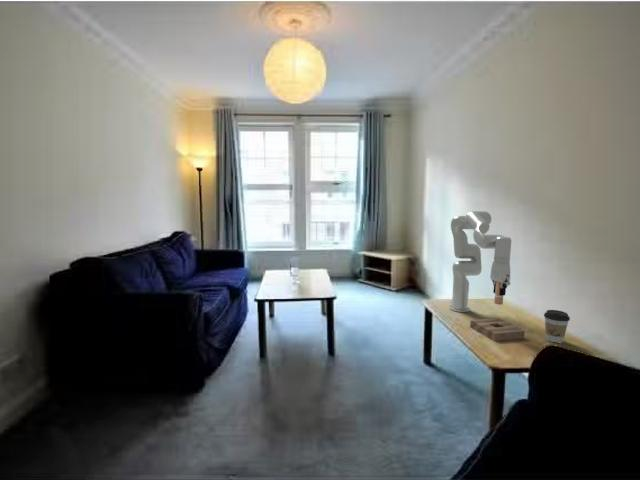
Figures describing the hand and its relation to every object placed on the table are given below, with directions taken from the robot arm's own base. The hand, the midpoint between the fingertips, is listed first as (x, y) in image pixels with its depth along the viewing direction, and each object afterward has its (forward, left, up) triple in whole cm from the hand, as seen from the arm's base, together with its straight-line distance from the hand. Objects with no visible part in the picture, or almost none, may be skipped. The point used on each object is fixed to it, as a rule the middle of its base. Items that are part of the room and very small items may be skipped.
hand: (499, 293), depth 203 cm
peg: (0, 0, -5) cm, 5 cm away
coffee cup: (+16, +22, -22) cm, 35 cm away
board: (0, 0, -21) cm, 21 cm away
